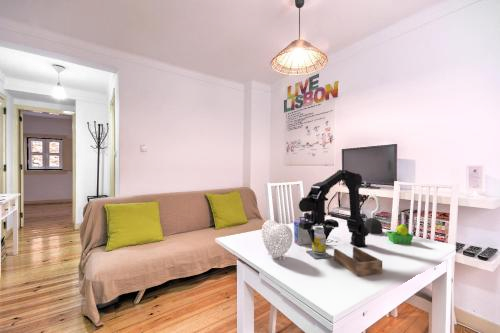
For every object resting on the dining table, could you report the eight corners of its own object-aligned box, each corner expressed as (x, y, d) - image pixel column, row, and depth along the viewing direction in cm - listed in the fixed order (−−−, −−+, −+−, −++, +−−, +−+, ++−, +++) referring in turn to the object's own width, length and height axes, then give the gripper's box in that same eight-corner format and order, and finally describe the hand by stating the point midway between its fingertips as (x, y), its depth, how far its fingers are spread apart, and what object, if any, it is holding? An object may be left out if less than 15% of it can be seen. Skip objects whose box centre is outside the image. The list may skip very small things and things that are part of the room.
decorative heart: (256, 254, 111) (256, 219, 111) (272, 249, 117) (272, 216, 117) (281, 267, 96) (281, 228, 96) (298, 261, 102) (298, 224, 102)
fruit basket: (406, 240, 131) (406, 221, 131) (415, 245, 123) (415, 225, 123) (385, 239, 133) (385, 220, 133) (393, 245, 124) (393, 224, 124)
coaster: (321, 250, 116) (321, 249, 116) (332, 257, 107) (332, 256, 107) (305, 252, 114) (305, 250, 114) (315, 259, 105) (315, 257, 105)
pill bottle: (310, 249, 113) (310, 226, 113) (322, 249, 114) (322, 226, 114) (314, 254, 107) (314, 230, 107) (328, 254, 107) (328, 230, 107)
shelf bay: (355, 257, 107) (355, 247, 107) (382, 273, 91) (382, 261, 91) (333, 259, 104) (333, 249, 104) (358, 276, 89) (358, 264, 89)
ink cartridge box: (308, 240, 131) (308, 215, 131) (313, 243, 126) (314, 217, 126) (293, 242, 128) (293, 217, 128) (298, 245, 123) (298, 219, 123)
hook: (360, 230, 151) (360, 193, 151) (375, 230, 152) (375, 193, 152) (371, 235, 140) (371, 195, 139) (387, 235, 141) (387, 195, 141)
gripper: (326, 206, 120) (326, 235, 120) (294, 207, 116) (294, 237, 116) (339, 210, 109) (339, 242, 109) (304, 212, 105) (304, 245, 105)
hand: (318, 241), depth 110 cm, fingers closed on pill bottle, 6 cm apart
